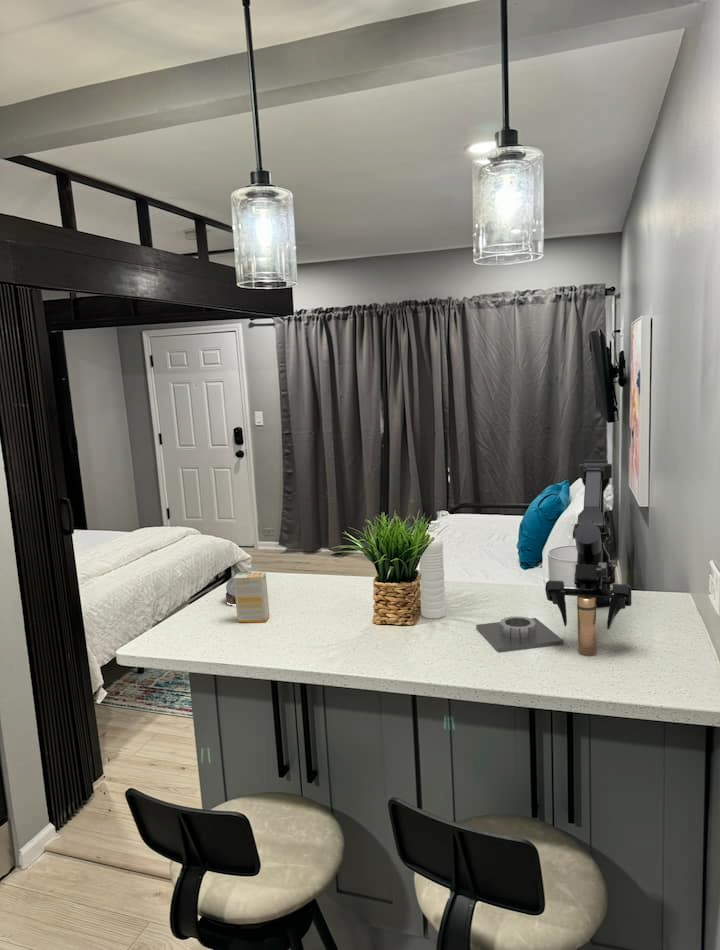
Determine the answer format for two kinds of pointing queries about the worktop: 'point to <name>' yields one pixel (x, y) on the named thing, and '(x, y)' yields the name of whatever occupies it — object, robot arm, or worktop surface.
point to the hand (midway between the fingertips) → (586, 627)
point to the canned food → (232, 589)
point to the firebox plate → (518, 643)
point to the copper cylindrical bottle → (586, 625)
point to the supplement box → (251, 597)
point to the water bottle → (433, 577)
